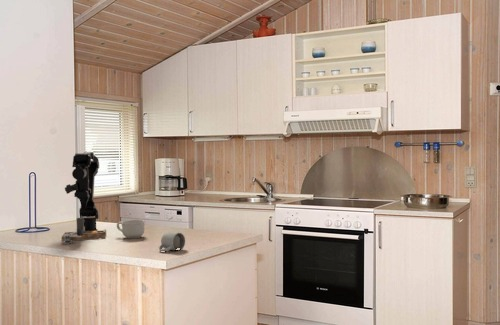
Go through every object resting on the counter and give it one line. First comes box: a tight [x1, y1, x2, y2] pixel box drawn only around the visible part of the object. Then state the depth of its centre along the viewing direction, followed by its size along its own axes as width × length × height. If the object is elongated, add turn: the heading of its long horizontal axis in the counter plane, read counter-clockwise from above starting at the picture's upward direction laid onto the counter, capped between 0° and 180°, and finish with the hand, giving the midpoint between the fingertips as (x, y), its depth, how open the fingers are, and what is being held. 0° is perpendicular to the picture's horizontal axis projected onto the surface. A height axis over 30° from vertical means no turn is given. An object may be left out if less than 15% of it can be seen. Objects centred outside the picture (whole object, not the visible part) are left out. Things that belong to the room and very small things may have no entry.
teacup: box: [116, 219, 145, 240], centre depth 257 cm, size 14×11×8 cm
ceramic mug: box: [158, 232, 186, 252], centre depth 225 cm, size 11×8×8 cm
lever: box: [62, 217, 85, 237], centre depth 250 cm, size 10×15×9 cm
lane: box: [61, 228, 107, 242], centre depth 258 cm, size 20×9×3 cm, turn 102°
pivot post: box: [61, 237, 74, 245], centre depth 245 cm, size 5×5×3 cm
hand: (83, 209), depth 265 cm, fingers closed
